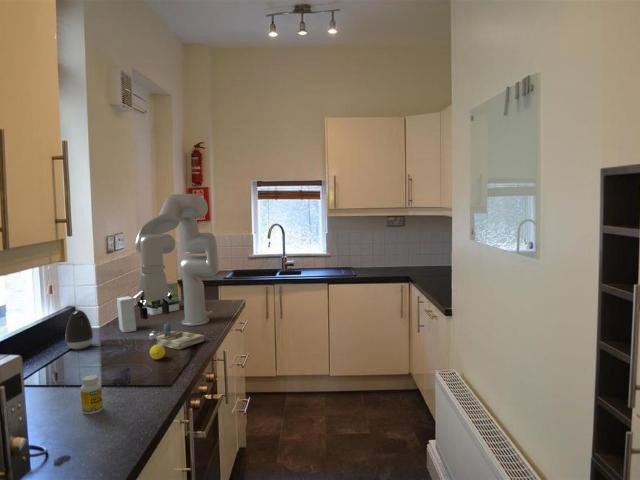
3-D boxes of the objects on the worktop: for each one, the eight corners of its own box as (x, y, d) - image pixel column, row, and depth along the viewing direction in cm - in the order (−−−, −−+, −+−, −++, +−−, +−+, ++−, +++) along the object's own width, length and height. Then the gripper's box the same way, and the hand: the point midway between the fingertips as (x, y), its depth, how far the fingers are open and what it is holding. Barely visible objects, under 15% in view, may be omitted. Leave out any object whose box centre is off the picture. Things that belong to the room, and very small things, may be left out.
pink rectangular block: (170, 337, 213) (170, 330, 213) (177, 338, 211) (176, 331, 211) (166, 338, 211) (165, 331, 211) (172, 340, 209) (172, 333, 209)
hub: (156, 336, 216) (155, 328, 215) (163, 337, 213) (163, 330, 213) (146, 339, 212) (146, 331, 211) (154, 340, 209) (153, 333, 209)
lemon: (150, 358, 188) (149, 344, 188) (165, 357, 189) (164, 342, 189) (149, 362, 181) (148, 346, 181) (165, 360, 182) (164, 345, 183)
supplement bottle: (93, 405, 145) (91, 373, 144) (107, 408, 143) (105, 375, 142) (77, 412, 140) (75, 379, 139) (91, 416, 138) (88, 382, 137)
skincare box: (136, 330, 226) (134, 298, 224) (122, 333, 222) (120, 300, 221) (132, 327, 233) (130, 295, 231) (118, 329, 229) (116, 297, 228)
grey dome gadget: (72, 353, 195) (69, 314, 194) (62, 348, 202) (59, 311, 201) (98, 346, 203) (96, 309, 201) (87, 342, 210) (85, 306, 208)
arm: (147, 343, 205) (146, 326, 204) (172, 335, 216) (171, 319, 215) (179, 349, 195) (178, 332, 194) (204, 340, 206) (203, 324, 205)
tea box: (170, 307, 272) (169, 280, 270) (179, 310, 264) (178, 282, 263) (143, 312, 261) (142, 284, 260) (152, 315, 254) (150, 286, 253)
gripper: (164, 266, 194) (167, 310, 195) (125, 272, 179) (128, 319, 180) (178, 267, 190) (180, 312, 191) (139, 273, 175) (142, 322, 176)
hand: (155, 315), depth 186 cm, fingers open, 9 cm apart
